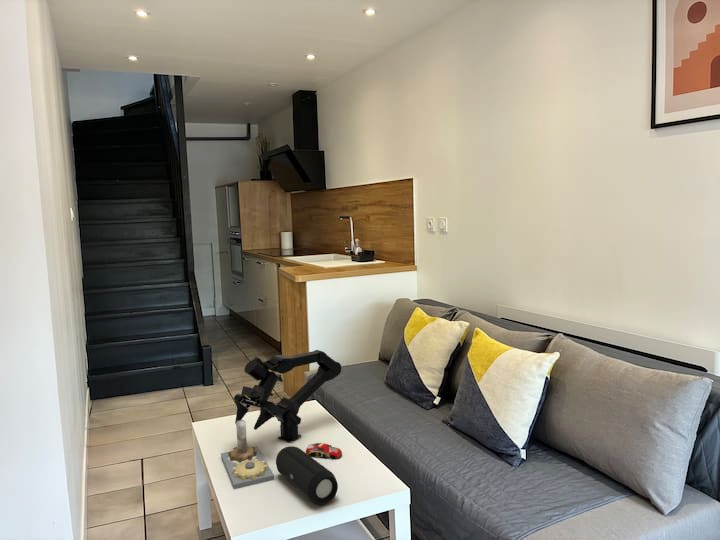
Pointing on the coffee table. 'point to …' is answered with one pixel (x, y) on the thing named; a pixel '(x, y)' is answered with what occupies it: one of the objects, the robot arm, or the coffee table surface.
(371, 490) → the coffee table surface
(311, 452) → the race car
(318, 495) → the portable speaker
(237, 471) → the gear board
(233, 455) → the walnut gear
